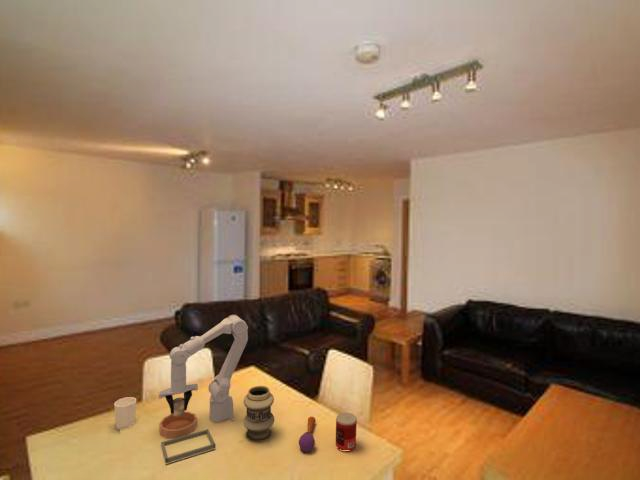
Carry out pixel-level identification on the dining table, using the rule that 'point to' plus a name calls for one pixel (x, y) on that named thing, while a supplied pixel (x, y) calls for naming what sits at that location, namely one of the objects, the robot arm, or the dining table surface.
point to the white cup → (125, 412)
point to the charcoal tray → (185, 454)
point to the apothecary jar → (258, 413)
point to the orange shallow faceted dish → (178, 425)
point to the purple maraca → (308, 437)
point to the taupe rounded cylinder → (178, 407)
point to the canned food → (346, 431)
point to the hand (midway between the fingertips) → (178, 411)
